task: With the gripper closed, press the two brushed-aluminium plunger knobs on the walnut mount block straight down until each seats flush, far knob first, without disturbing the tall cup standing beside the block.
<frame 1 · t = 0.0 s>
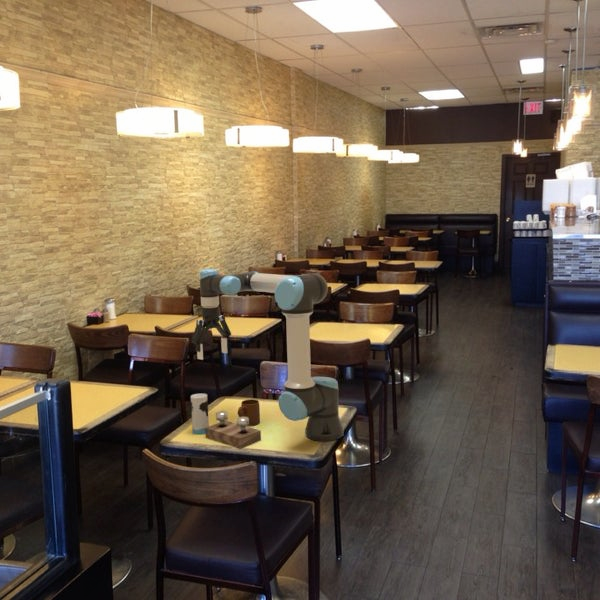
hand: (212, 356, 282), 28 cm above the table, fingers open, 13 cm apart
near knob: (242, 426, 258), point 6 cm above the table, slide at 0.0 cm
far knob: (222, 419, 266), point 6 cm above the table, slide at 0.0 cm
cup: (200, 431, 273), on the table
mount block: (233, 438, 263), on the table
mug: (247, 425, 279), on the table
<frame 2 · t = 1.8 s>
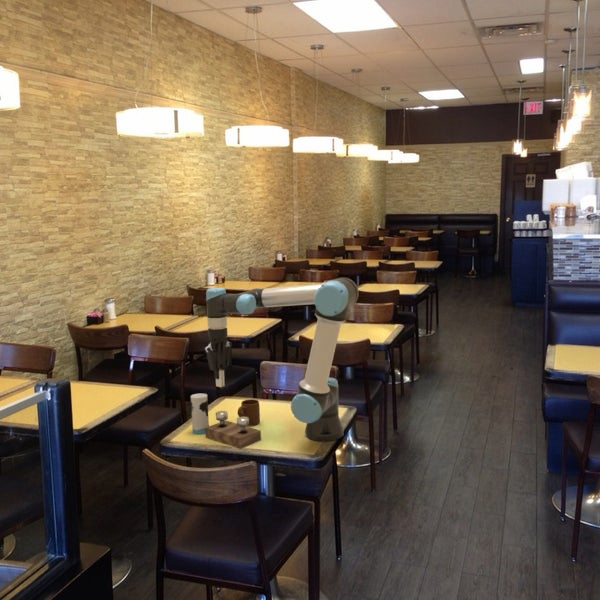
hand: (220, 386, 264), 20 cm above the table, fingers closed
nothing on the table moved.
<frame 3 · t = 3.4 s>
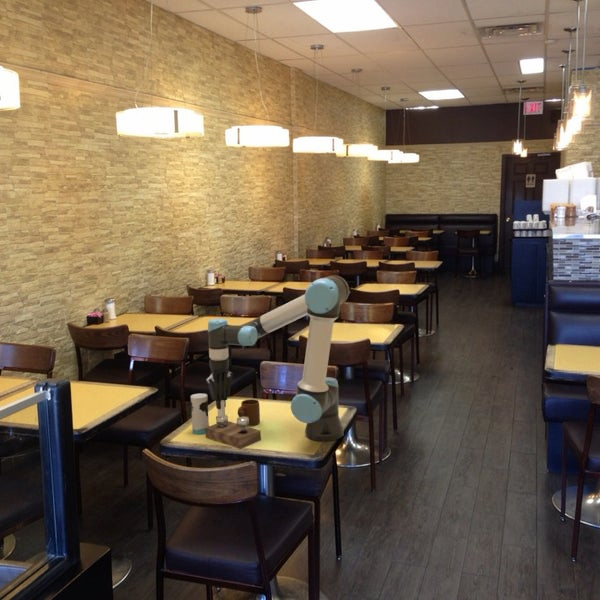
hand: (221, 415, 266), 8 cm above the table, fingers closed
far knob: (222, 423, 266), point 5 cm above the table, slide at 1.6 cm, touching gripper
everything else where it was.
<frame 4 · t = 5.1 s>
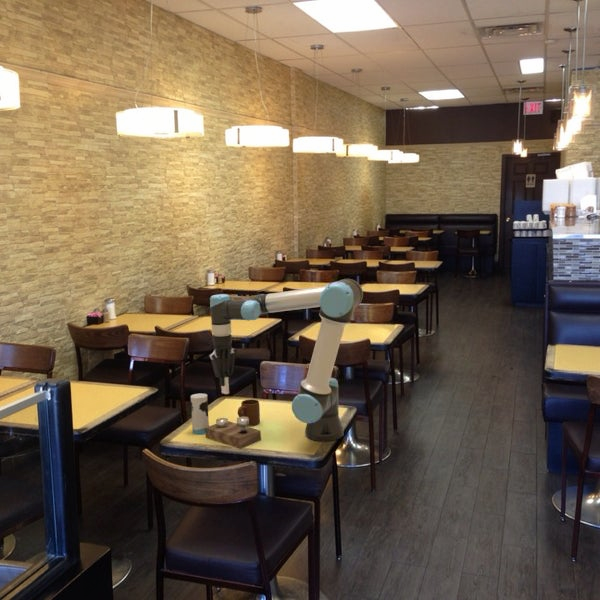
hand: (225, 393, 263), 18 cm above the table, fingers closed
far knob: (222, 426, 266), point 4 cm above the table, slide at 2.9 cm
everything else where it was.
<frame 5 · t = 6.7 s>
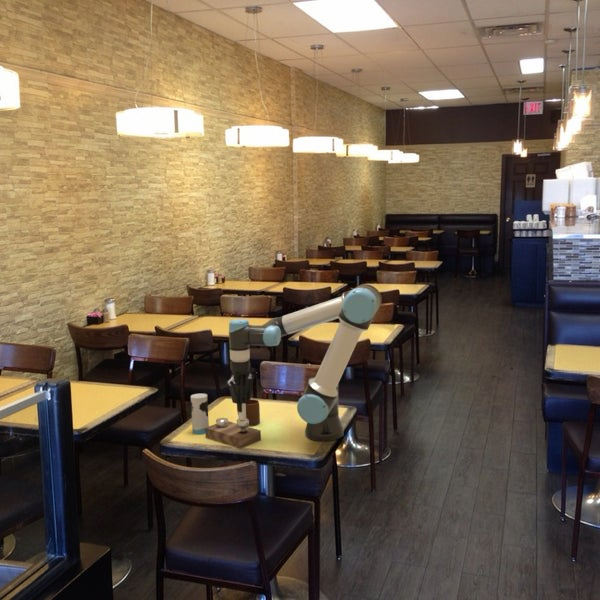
hand: (242, 419, 258), 9 cm above the table, fingers closed
near knob: (243, 427, 258), point 6 cm above the table, slide at 0.6 cm, touching gripper
everything else where it was.
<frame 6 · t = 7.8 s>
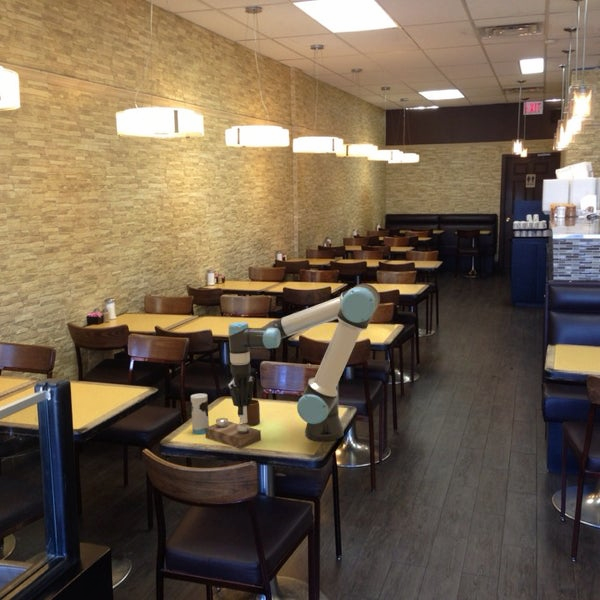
hand: (243, 422, 258), 8 cm above the table, fingers closed
near knob: (243, 433, 258), point 4 cm above the table, slide at 2.9 cm
everything else where it was.
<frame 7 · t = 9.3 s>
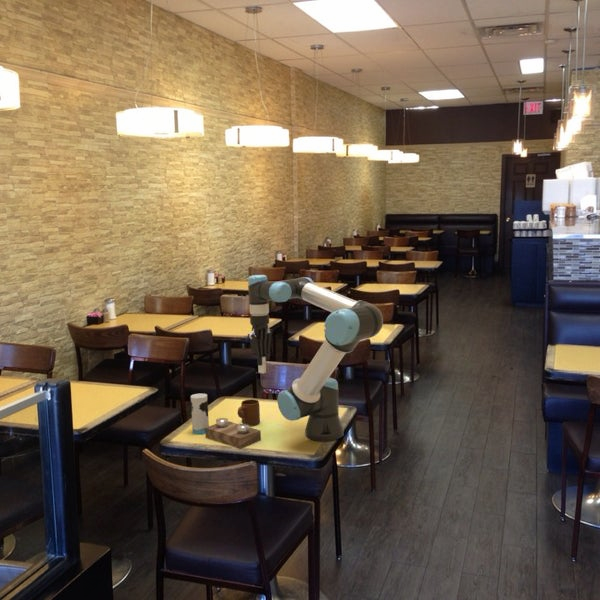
hand: (262, 372, 266), 24 cm above the table, fingers closed
nothing on the table moved.
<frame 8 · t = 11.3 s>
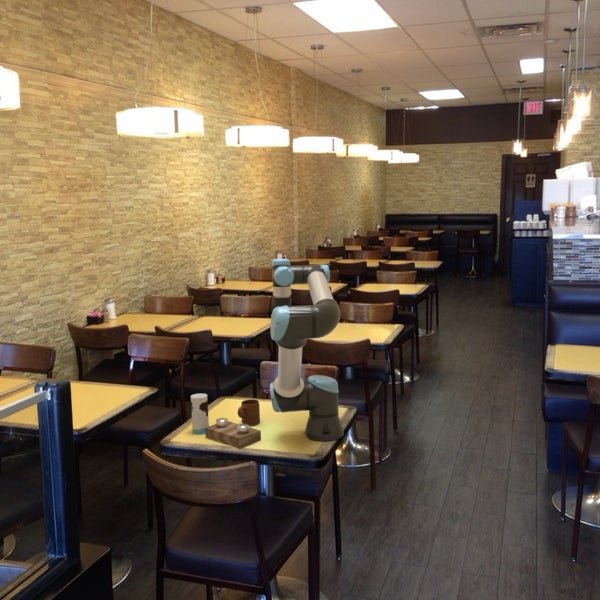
hand: (283, 351, 280), 29 cm above the table, fingers closed
nothing on the table moved.
at the end: far knob slide at 2.9 cm; near knob slide at 2.9 cm; cup tilted 0° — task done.
